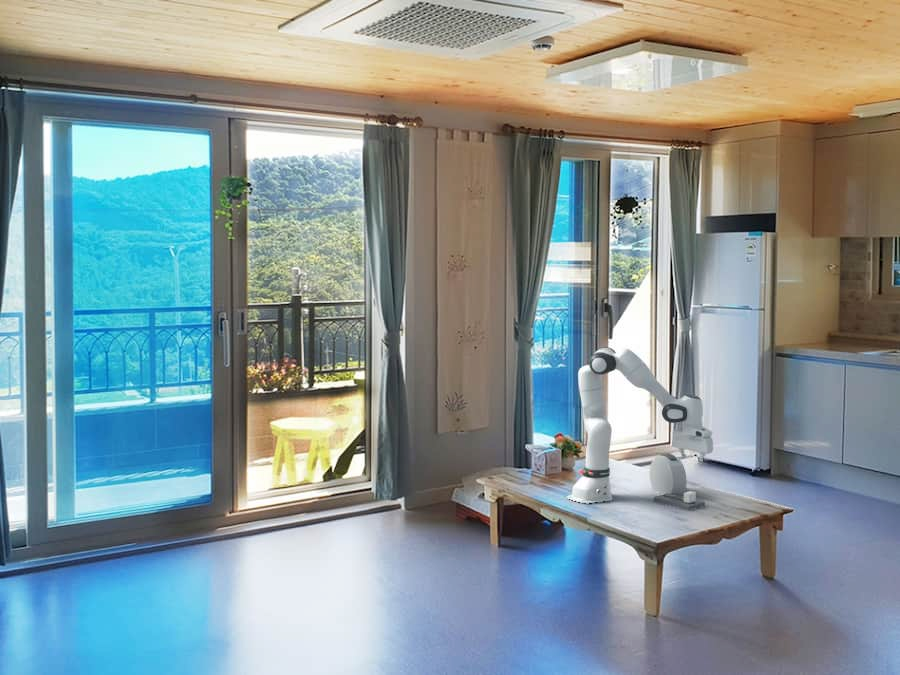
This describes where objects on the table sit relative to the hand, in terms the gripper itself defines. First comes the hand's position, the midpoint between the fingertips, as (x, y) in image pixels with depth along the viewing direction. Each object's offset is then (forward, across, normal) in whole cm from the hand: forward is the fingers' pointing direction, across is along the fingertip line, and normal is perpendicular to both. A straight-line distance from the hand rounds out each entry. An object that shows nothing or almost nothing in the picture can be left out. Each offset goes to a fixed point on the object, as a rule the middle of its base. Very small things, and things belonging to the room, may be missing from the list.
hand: (692, 459), depth 400 cm
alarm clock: (+22, -21, +10) cm, 32 cm away
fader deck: (+22, -6, -1) cm, 23 cm away
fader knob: (+21, 0, -1) cm, 21 cm away
